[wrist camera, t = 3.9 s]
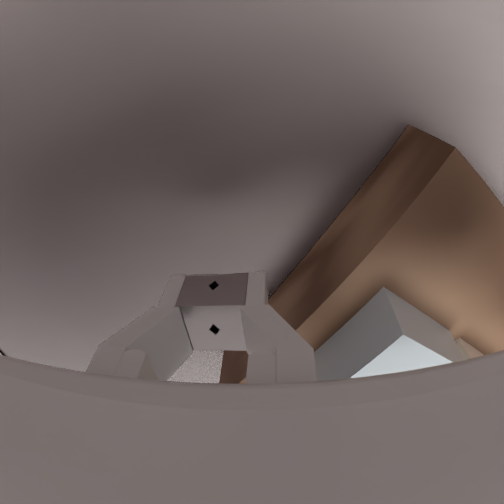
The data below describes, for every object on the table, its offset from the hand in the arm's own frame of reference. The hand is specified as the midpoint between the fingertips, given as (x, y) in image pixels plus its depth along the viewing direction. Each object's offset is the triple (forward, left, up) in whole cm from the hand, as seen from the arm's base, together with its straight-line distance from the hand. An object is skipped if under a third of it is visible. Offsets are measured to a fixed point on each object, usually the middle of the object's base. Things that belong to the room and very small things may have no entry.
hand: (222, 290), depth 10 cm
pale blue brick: (0, -8, -1) cm, 8 cm away
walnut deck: (0, -11, -5) cm, 12 cm away
